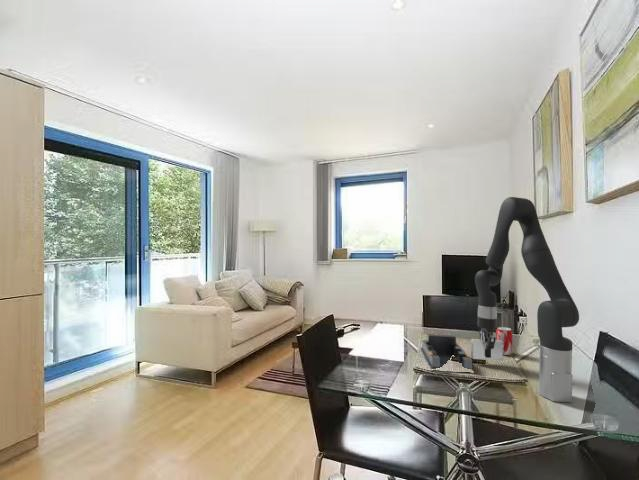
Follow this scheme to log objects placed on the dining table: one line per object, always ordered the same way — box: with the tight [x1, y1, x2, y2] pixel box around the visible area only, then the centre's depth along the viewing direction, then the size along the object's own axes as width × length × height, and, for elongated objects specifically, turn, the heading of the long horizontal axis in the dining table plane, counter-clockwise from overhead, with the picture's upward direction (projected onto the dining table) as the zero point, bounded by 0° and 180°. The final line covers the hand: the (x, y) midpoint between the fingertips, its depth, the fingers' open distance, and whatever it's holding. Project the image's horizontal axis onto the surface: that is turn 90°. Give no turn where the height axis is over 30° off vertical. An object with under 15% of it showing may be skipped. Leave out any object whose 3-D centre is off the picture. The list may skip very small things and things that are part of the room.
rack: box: [419, 333, 473, 369], centre depth 152 cm, size 26×17×9 cm, turn 173°
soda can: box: [495, 326, 514, 356], centre depth 162 cm, size 7×7×12 cm
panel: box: [470, 338, 504, 361], centre depth 148 cm, size 2×12×8 cm, turn 83°
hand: (486, 356), depth 148 cm, fingers closed on panel, 2 cm apart
